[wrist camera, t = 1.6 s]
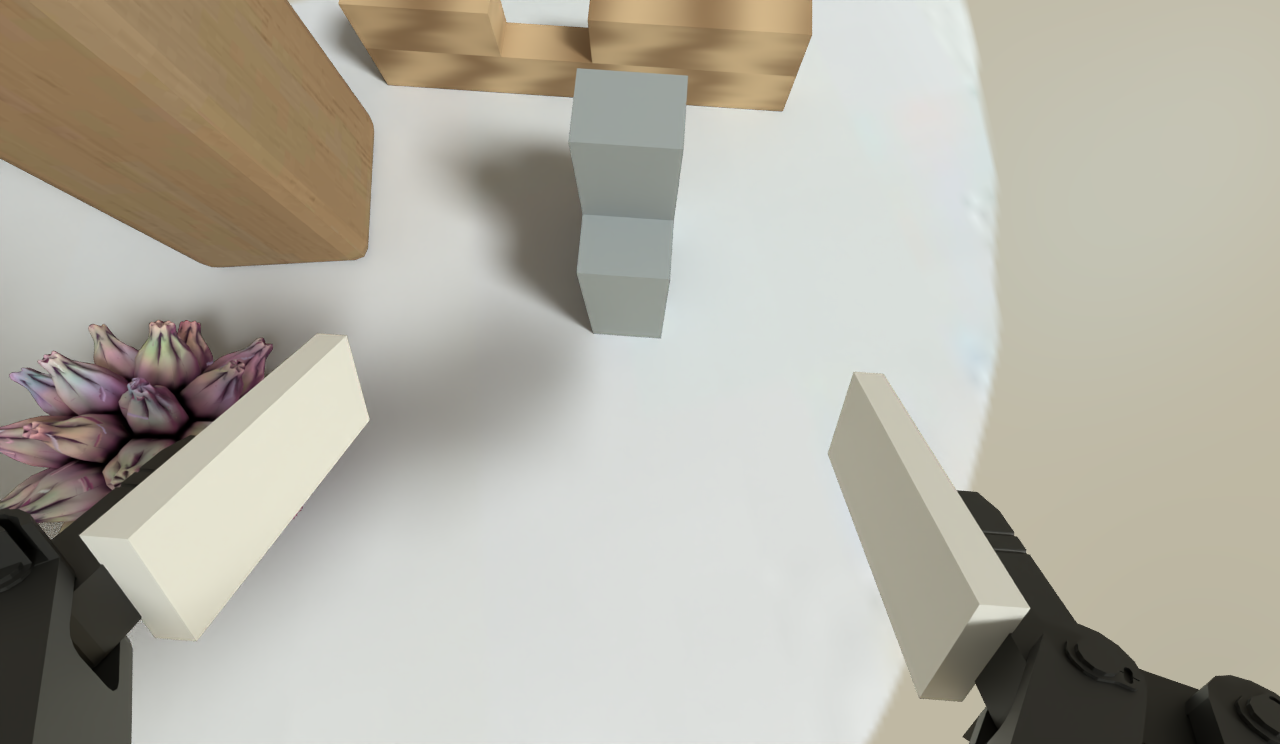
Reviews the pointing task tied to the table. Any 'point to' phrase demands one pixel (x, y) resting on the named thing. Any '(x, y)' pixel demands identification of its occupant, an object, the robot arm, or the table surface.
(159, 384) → the flower
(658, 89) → the grey stepped block
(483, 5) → the oak slotted plate
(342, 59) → the table surface
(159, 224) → the wooden block
